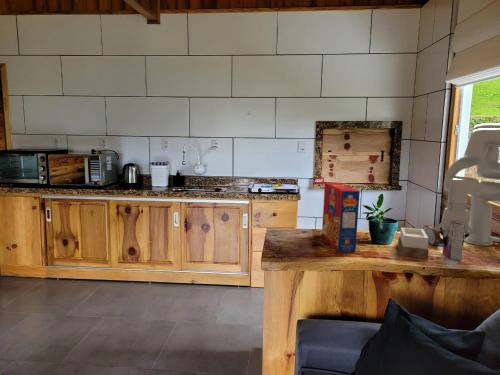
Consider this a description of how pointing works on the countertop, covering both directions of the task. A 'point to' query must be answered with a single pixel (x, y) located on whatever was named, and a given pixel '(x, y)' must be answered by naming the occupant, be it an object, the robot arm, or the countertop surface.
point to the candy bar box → (454, 241)
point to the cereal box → (340, 216)
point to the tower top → (414, 238)
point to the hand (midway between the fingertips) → (452, 246)
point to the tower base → (412, 251)
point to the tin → (432, 234)
